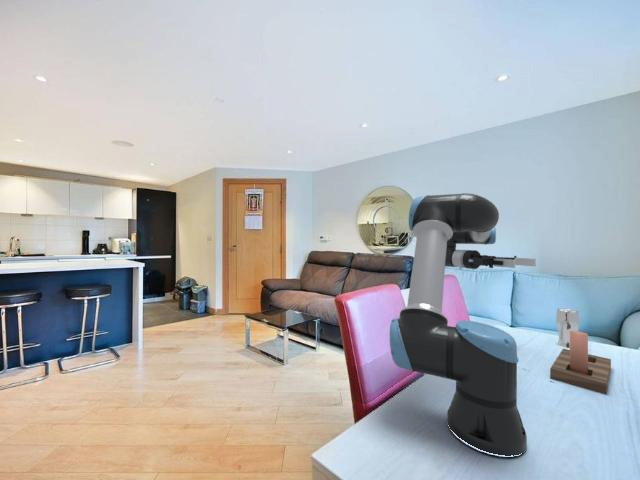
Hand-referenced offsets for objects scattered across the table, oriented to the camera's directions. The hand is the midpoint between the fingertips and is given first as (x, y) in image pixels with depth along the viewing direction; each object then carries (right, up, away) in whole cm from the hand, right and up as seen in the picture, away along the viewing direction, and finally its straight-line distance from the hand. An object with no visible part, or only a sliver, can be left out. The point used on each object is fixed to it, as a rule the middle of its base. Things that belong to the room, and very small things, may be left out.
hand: (525, 263), depth 97 cm
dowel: (+7, -34, -12) cm, 37 cm away
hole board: (+12, -35, -8) cm, 38 cm away
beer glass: (+28, -35, +16) cm, 48 cm away
